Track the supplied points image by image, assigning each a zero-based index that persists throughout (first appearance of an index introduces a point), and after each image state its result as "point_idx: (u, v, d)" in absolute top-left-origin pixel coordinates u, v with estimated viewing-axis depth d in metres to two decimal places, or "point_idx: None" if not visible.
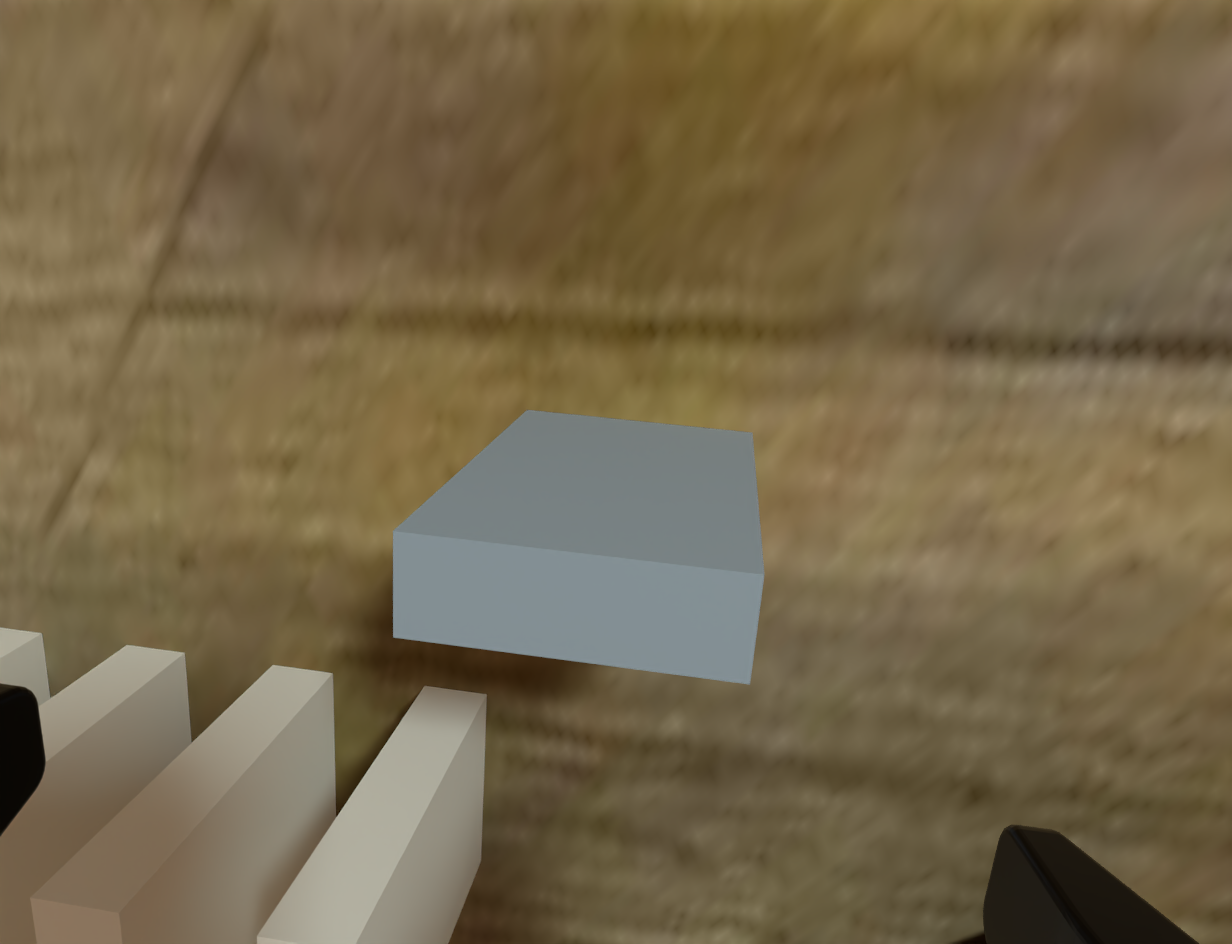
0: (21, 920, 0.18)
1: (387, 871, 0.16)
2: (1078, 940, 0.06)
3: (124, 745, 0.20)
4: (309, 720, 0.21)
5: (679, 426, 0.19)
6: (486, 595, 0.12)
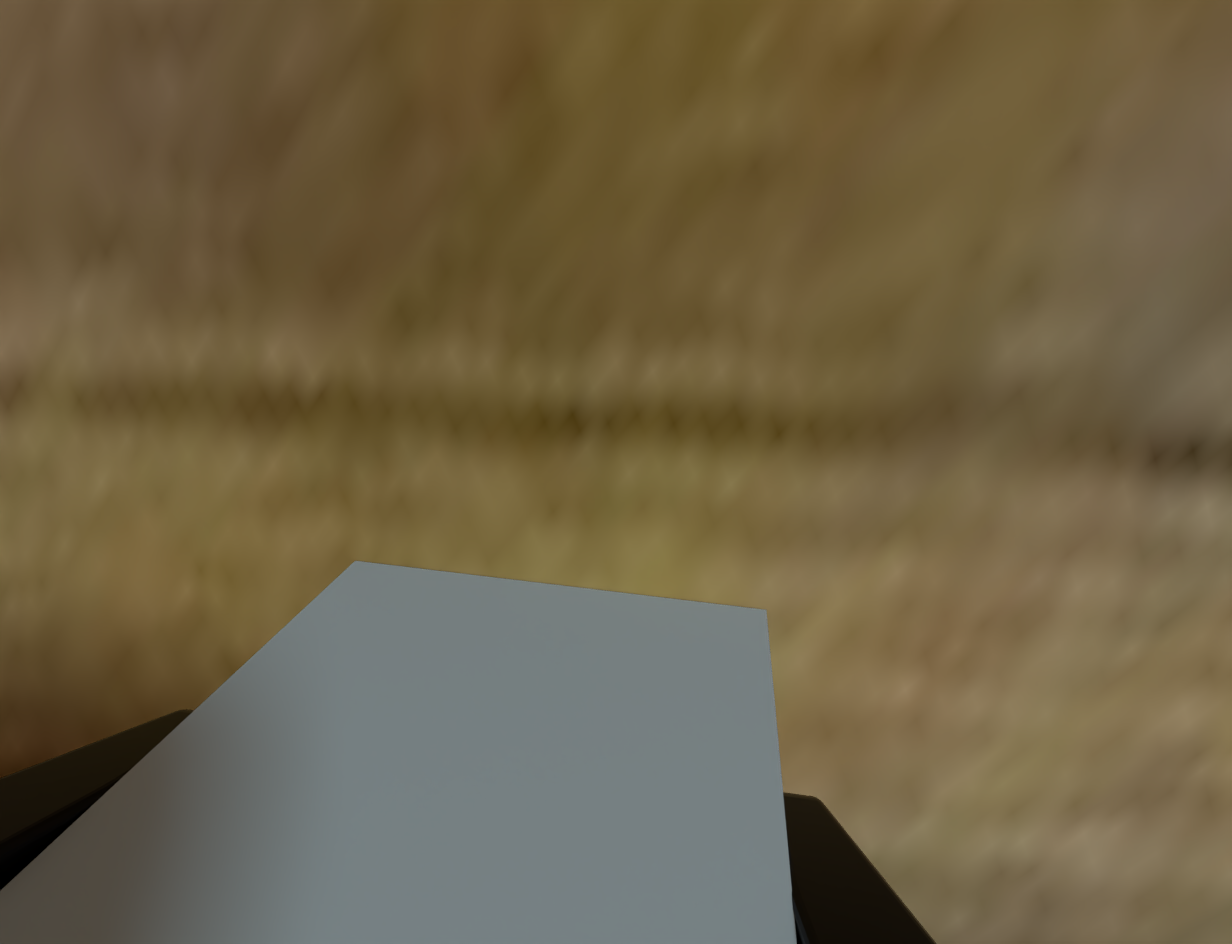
0: None
1: None
2: None
3: None
4: None
5: (631, 596, 0.10)
6: None
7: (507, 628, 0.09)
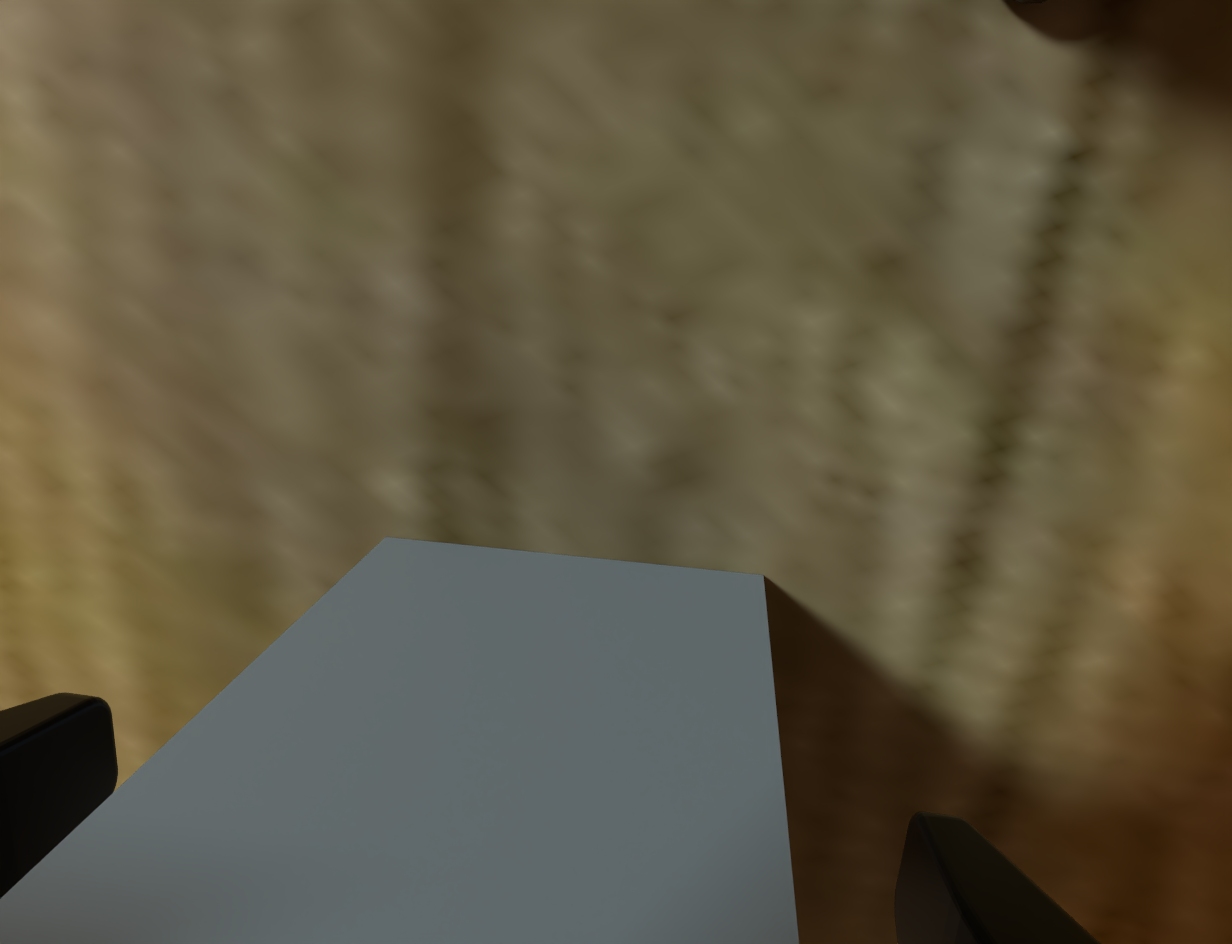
0: None
1: None
2: (960, 922, 0.06)
3: None
4: None
5: (639, 565, 0.11)
6: None
7: (528, 592, 0.10)
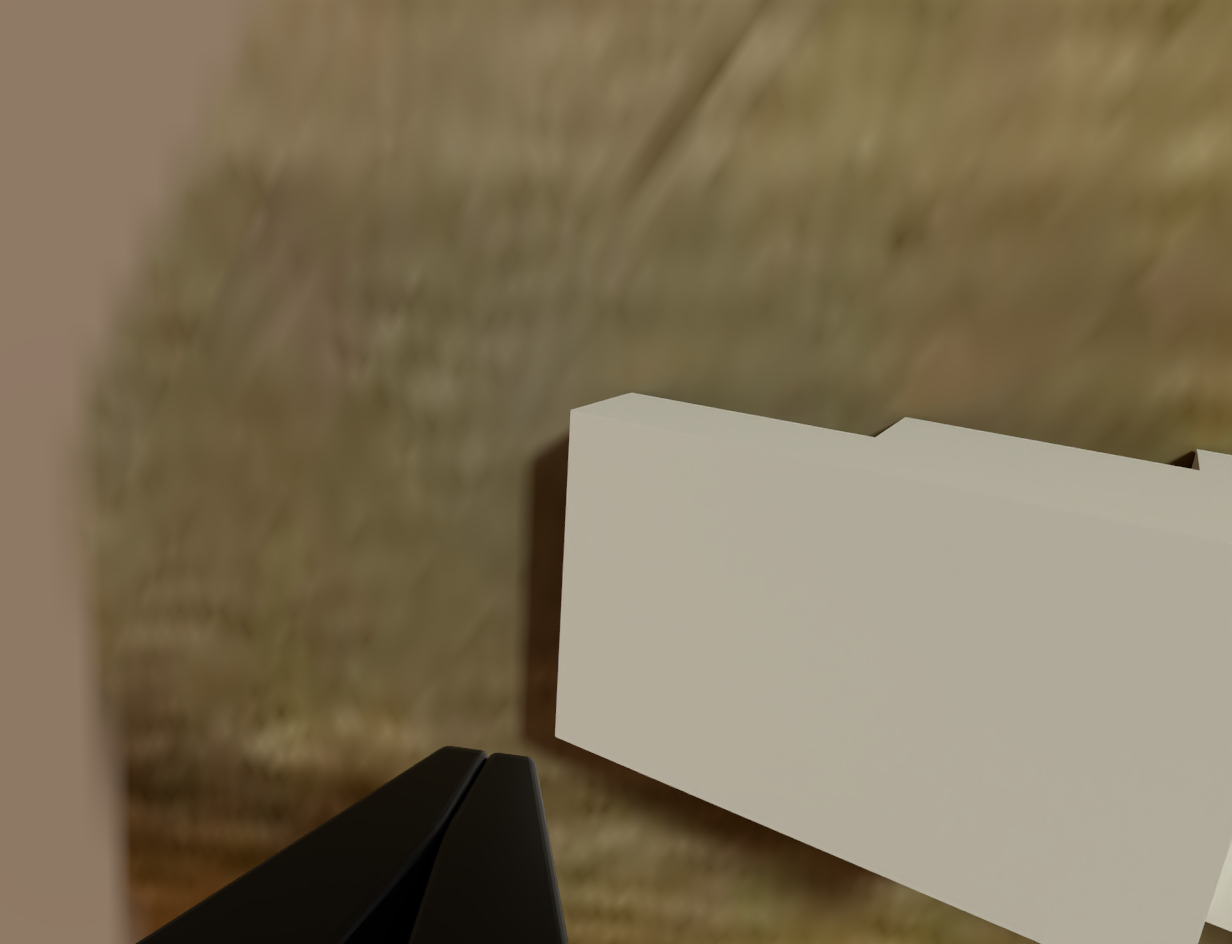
0: None
1: None
2: (441, 844, 0.06)
3: None
4: None
5: None
6: None
7: None
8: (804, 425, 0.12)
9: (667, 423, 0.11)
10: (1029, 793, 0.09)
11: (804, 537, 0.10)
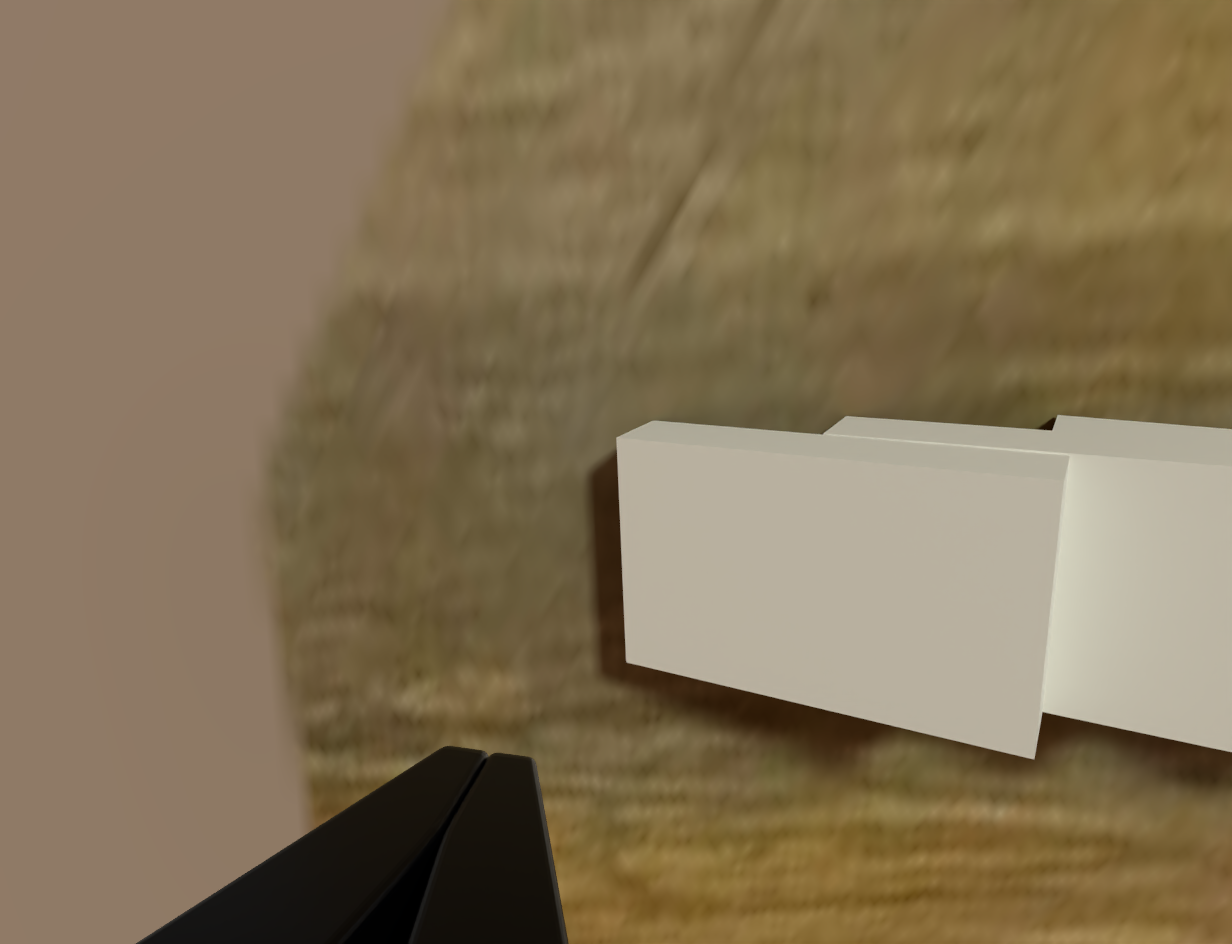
0: None
1: None
2: (441, 844, 0.06)
3: None
4: None
5: None
6: None
7: None
8: (771, 431, 0.17)
9: (681, 439, 0.17)
10: (931, 644, 0.15)
11: (777, 502, 0.16)
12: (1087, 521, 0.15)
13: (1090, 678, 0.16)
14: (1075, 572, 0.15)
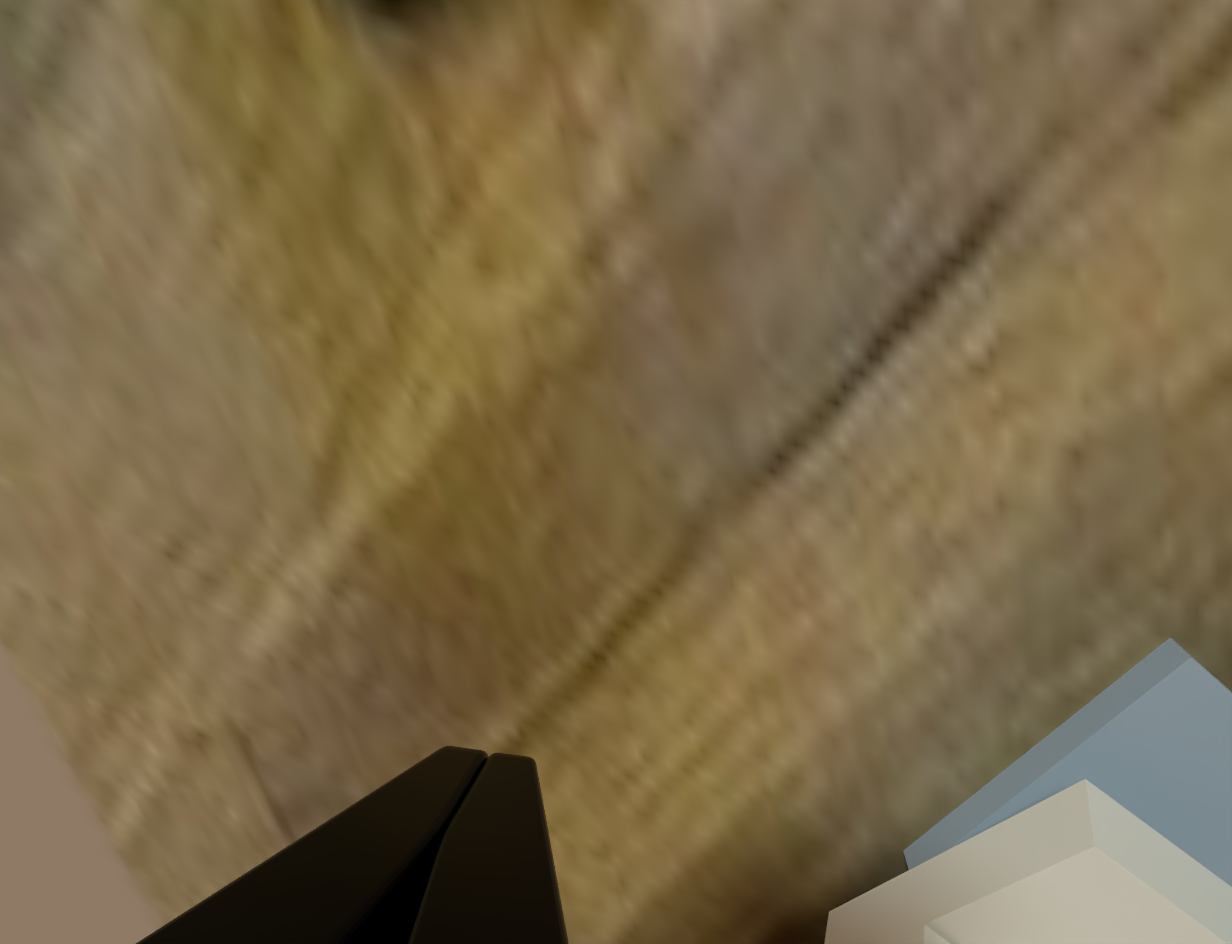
0: None
1: (1016, 819, 0.18)
2: (441, 845, 0.06)
3: None
4: None
5: None
6: (1214, 676, 0.19)
7: None
8: None
9: None
10: None
11: None
12: None
13: None
14: None
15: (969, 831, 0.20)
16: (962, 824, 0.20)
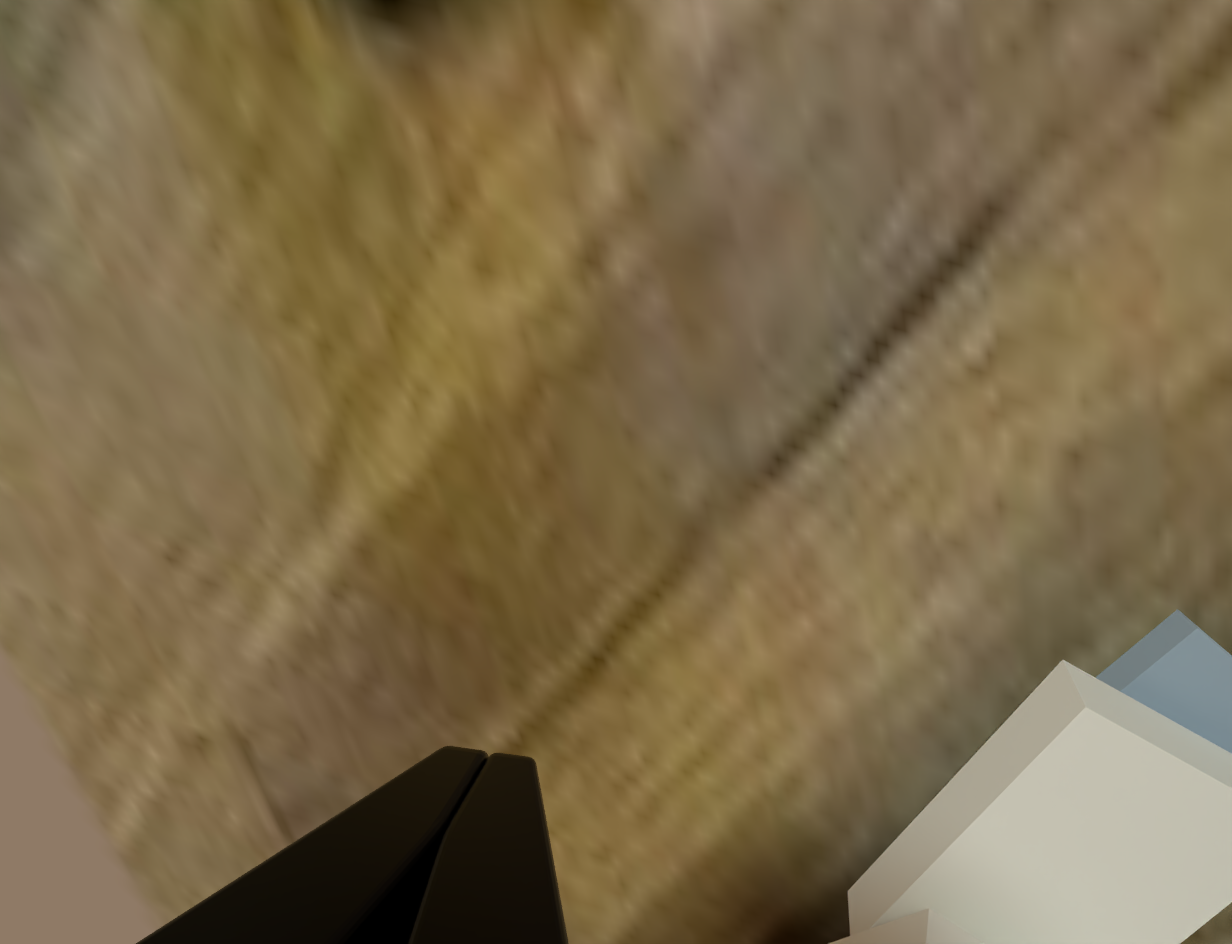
0: None
1: (1008, 722, 0.19)
2: (441, 844, 0.06)
3: None
4: None
5: None
6: None
7: None
8: None
9: None
10: None
11: None
12: None
13: None
14: None
15: None
16: None
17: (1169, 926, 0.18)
